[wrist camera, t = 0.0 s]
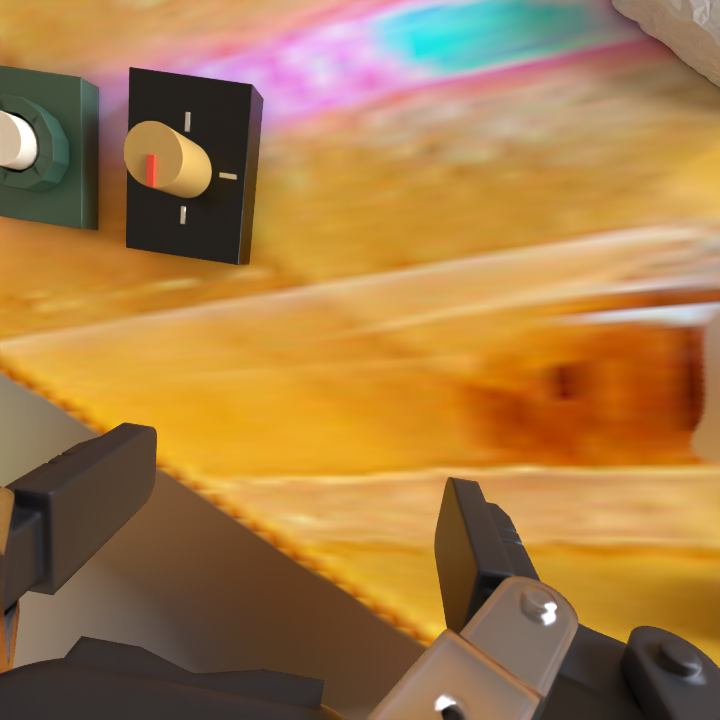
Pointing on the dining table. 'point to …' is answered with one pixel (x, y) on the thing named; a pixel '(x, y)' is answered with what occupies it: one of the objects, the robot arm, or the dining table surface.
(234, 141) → the panel
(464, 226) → the dining table surface
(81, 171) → the button block
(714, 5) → the stone
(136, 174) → the knob
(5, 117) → the button
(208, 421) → the dining table surface
